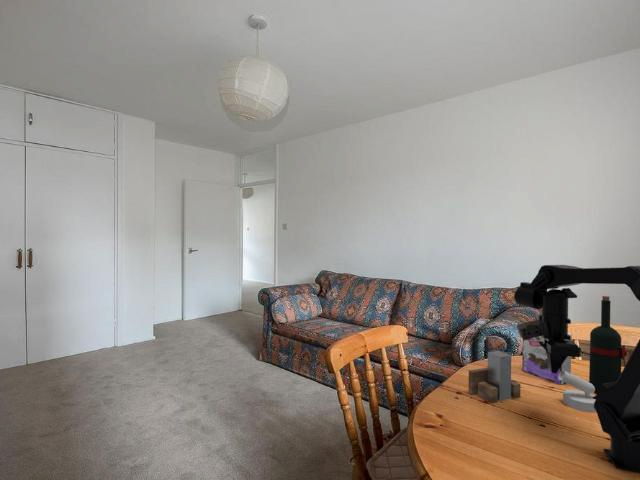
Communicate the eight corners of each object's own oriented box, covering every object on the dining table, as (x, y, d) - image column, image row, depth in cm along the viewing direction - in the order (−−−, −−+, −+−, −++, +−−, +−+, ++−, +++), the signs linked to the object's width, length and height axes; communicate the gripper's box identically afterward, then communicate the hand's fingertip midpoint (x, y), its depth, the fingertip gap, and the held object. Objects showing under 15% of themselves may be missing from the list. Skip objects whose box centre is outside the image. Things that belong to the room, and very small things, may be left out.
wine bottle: (629, 402, 104) (631, 300, 103) (586, 391, 111) (588, 296, 110) (632, 394, 109) (633, 297, 109) (591, 384, 116) (592, 293, 116)
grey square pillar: (510, 398, 106) (511, 355, 106) (499, 400, 104) (500, 357, 104) (498, 392, 110) (498, 350, 110) (487, 394, 108) (487, 352, 108)
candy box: (521, 370, 128) (521, 325, 128) (531, 368, 131) (532, 323, 131) (560, 385, 116) (561, 335, 116) (571, 382, 118) (572, 333, 118)
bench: (523, 396, 107) (523, 373, 107) (487, 403, 102) (488, 379, 102) (502, 386, 114) (502, 365, 114) (468, 393, 109) (468, 370, 109)
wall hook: (552, 365, 107) (590, 367, 105) (552, 396, 108) (589, 399, 106) (566, 376, 99) (607, 379, 97) (566, 410, 99) (606, 413, 97)
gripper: (512, 304, 103) (512, 357, 104) (528, 318, 86) (527, 382, 86) (557, 307, 100) (556, 362, 100) (582, 322, 82) (581, 389, 82)
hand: (553, 372), depth 92 cm, fingers closed
